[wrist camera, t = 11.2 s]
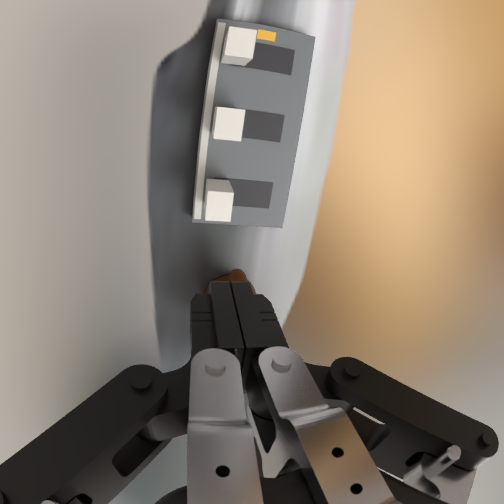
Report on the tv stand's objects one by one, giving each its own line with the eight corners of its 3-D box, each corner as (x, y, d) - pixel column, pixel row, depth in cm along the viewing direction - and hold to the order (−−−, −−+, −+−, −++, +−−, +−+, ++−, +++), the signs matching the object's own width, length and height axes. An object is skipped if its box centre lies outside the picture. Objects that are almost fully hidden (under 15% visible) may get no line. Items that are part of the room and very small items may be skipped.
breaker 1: (244, 65, 25) (252, 58, 21) (220, 62, 25) (224, 54, 21) (248, 41, 24) (257, 30, 20) (224, 38, 23) (229, 26, 19)
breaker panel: (278, 221, 37) (282, 228, 36) (192, 216, 35) (192, 223, 33) (309, 40, 26) (315, 36, 25) (216, 23, 24) (217, 18, 22)
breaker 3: (226, 205, 33) (230, 221, 28) (204, 204, 32) (205, 220, 28) (229, 180, 31) (234, 192, 27) (206, 178, 31) (207, 191, 27)
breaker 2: (234, 136, 29) (240, 141, 25) (211, 134, 28) (213, 138, 24) (238, 109, 28) (245, 109, 23) (215, 106, 27) (217, 106, 23)
